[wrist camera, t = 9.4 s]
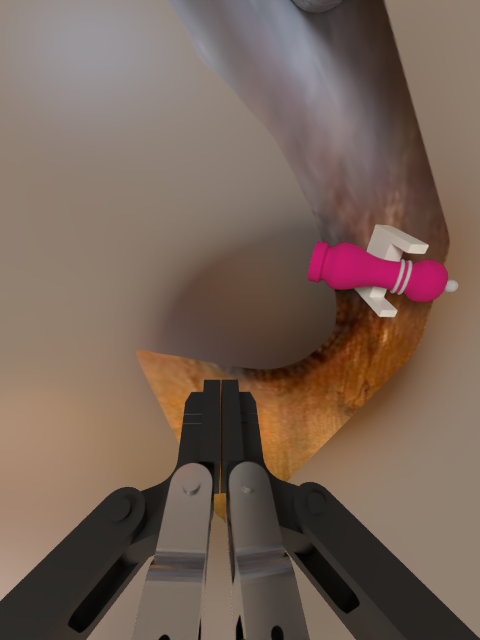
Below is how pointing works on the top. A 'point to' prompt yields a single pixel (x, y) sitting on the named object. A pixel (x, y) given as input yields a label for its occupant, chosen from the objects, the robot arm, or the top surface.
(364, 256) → the pepper mill
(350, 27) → the top surface
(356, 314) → the top surface
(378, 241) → the u rest
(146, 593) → the robot arm
